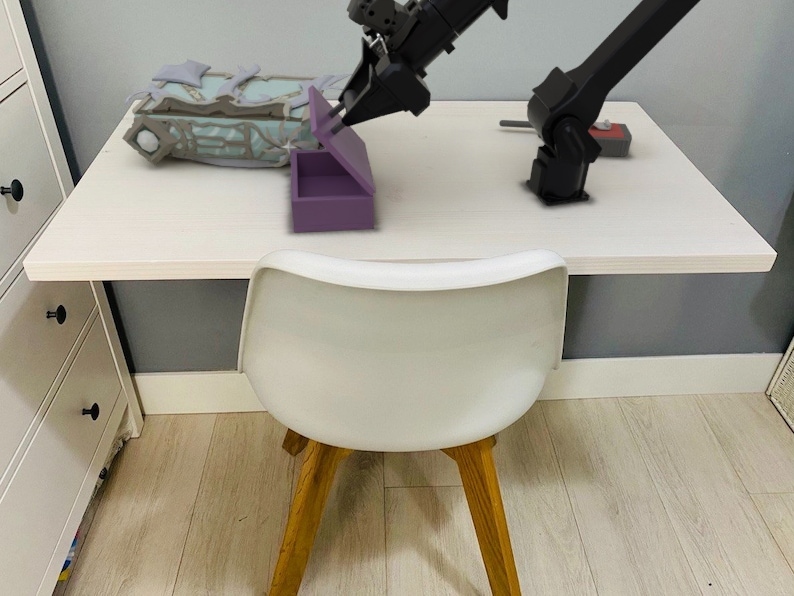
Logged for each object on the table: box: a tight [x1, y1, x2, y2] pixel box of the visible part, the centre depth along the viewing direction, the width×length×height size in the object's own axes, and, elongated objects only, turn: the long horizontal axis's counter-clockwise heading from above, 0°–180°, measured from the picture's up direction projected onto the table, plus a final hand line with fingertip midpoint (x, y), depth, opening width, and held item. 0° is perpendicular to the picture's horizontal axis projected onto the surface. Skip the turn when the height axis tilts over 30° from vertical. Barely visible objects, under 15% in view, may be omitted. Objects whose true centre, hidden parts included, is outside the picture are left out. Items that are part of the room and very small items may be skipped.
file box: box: [290, 149, 375, 233], centre depth 83 cm, size 10×14×4 cm
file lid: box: [308, 85, 377, 196], centre depth 79 cm, size 10×14×5 cm
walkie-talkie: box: [498, 118, 633, 157], centre depth 100 cm, size 9×4×20 cm
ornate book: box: [121, 58, 353, 176], centre depth 96 cm, size 23×10×30 cm
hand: (342, 112), depth 78 cm, fingers closed on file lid, 6 cm apart
